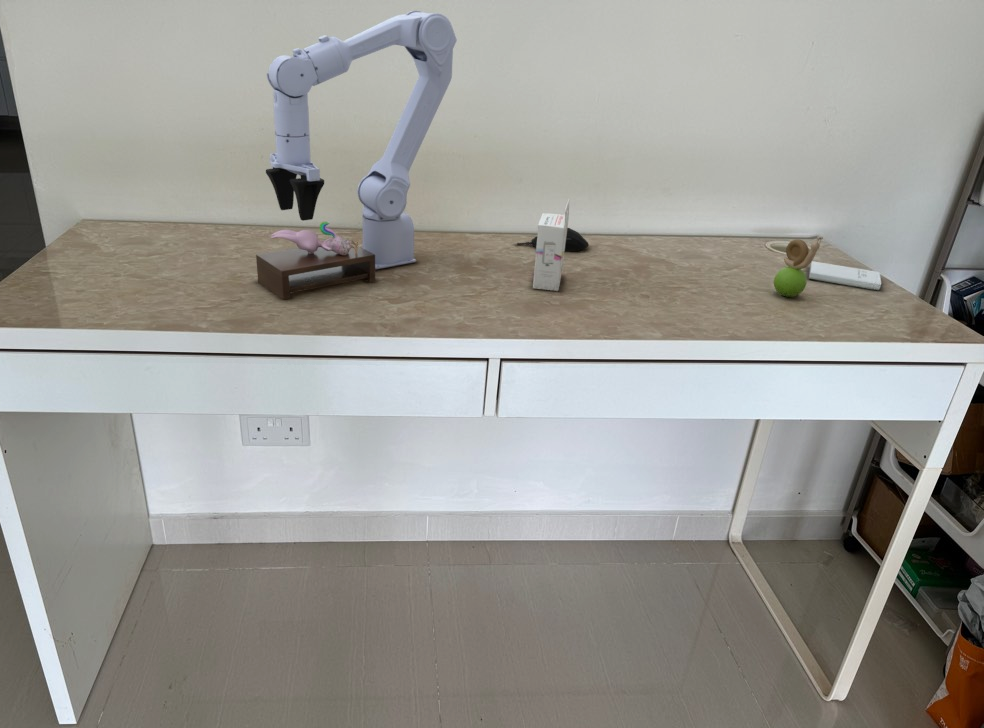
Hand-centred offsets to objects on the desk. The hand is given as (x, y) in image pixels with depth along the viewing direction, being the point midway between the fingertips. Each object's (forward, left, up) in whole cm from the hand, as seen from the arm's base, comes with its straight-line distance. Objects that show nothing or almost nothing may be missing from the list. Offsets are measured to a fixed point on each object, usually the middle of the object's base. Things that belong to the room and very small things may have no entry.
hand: (296, 214), depth 136 cm
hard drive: (-89, +56, -11) cm, 106 cm away
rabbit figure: (0, +6, -6) cm, 8 cm away
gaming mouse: (-53, +12, -11) cm, 55 cm away
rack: (0, +7, -10) cm, 12 cm away
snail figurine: (-70, +56, -11) cm, 90 cm away
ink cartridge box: (-36, +28, -11) cm, 47 cm away
